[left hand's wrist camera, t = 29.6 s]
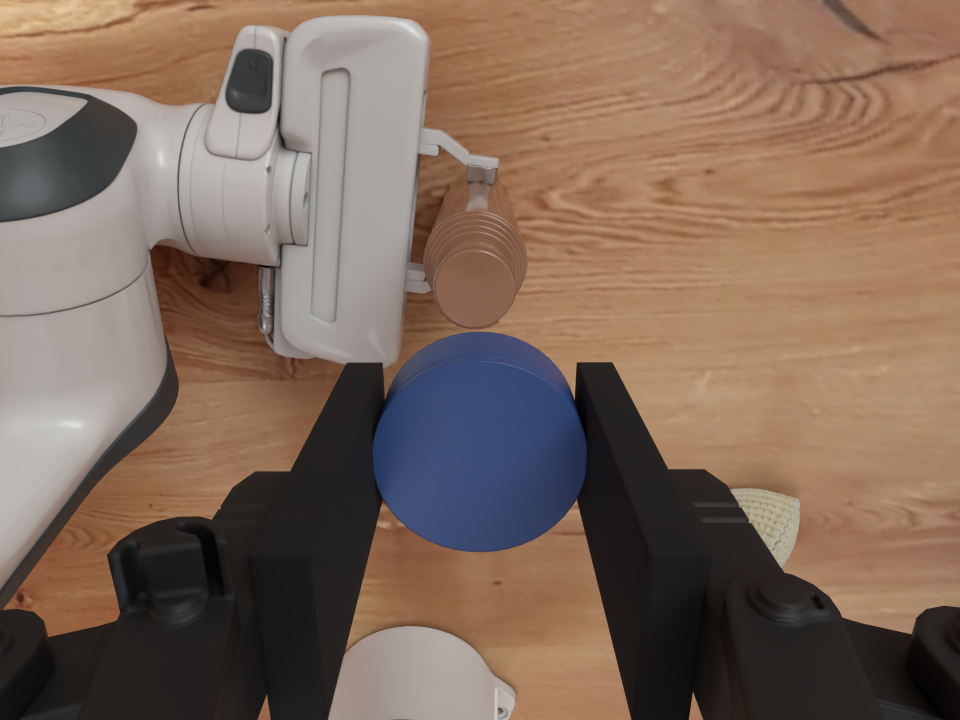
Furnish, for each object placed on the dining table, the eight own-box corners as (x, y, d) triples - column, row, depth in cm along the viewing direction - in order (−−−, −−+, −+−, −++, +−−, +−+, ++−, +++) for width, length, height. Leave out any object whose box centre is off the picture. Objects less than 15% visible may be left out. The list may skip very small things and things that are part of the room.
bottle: (432, 190, 46) (391, 264, 24) (490, 159, 45) (501, 206, 24) (462, 248, 47) (450, 366, 26) (519, 218, 47) (556, 314, 25)
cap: (418, 523, 15) (411, 573, 14) (356, 360, 14) (339, 394, 12) (595, 479, 15) (609, 525, 13) (549, 306, 14) (559, 334, 12)
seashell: (651, 536, 53) (737, 508, 47) (693, 488, 59) (773, 458, 53) (708, 626, 52) (802, 608, 47) (744, 567, 58) (831, 546, 53)
